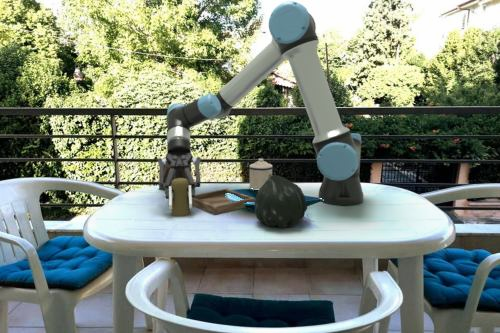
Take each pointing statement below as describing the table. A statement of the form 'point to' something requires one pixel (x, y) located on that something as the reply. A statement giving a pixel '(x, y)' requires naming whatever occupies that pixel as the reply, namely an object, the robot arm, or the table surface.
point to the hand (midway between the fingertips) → (180, 206)
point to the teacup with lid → (259, 173)
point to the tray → (219, 201)
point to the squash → (280, 203)
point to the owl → (175, 174)
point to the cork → (180, 198)
